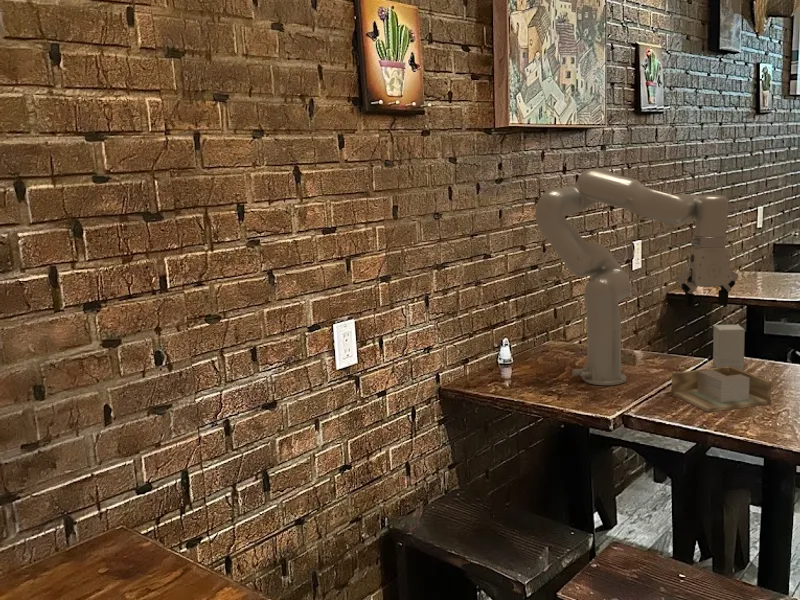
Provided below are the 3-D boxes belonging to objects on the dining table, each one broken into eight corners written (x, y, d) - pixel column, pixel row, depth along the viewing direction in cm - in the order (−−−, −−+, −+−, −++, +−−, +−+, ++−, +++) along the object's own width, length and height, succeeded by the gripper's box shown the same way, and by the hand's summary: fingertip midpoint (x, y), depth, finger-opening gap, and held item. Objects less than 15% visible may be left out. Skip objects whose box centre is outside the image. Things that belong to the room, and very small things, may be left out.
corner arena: (708, 412, 180) (708, 389, 179) (671, 394, 195) (671, 373, 194) (770, 404, 183) (771, 381, 182) (729, 386, 199) (730, 366, 198)
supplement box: (744, 370, 213) (745, 329, 211) (717, 370, 215) (718, 329, 213) (737, 364, 220) (739, 324, 218) (712, 364, 222) (713, 324, 220)
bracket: (697, 392, 192) (697, 371, 191) (724, 389, 193) (724, 368, 192) (720, 403, 182) (721, 381, 181) (748, 400, 184) (749, 377, 183)
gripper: (687, 245, 182) (684, 311, 186) (748, 242, 185) (744, 307, 189) (671, 242, 190) (668, 305, 193) (730, 239, 192) (726, 302, 196)
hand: (705, 306), depth 191 cm, fingers open, 9 cm apart
